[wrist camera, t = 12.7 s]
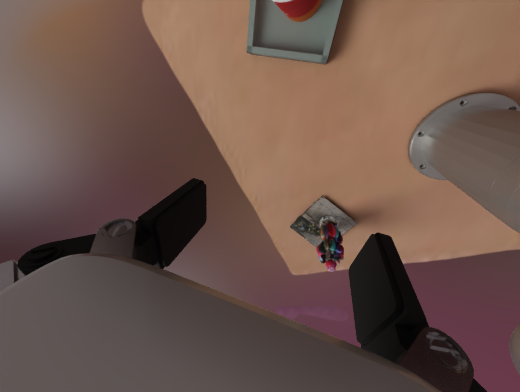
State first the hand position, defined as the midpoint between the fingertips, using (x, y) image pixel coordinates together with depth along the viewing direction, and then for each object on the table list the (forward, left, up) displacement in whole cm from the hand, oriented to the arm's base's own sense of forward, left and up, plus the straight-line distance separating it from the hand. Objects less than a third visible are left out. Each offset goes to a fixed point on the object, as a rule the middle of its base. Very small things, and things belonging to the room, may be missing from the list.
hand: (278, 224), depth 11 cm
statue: (-8, +20, -28) cm, 35 cm away
